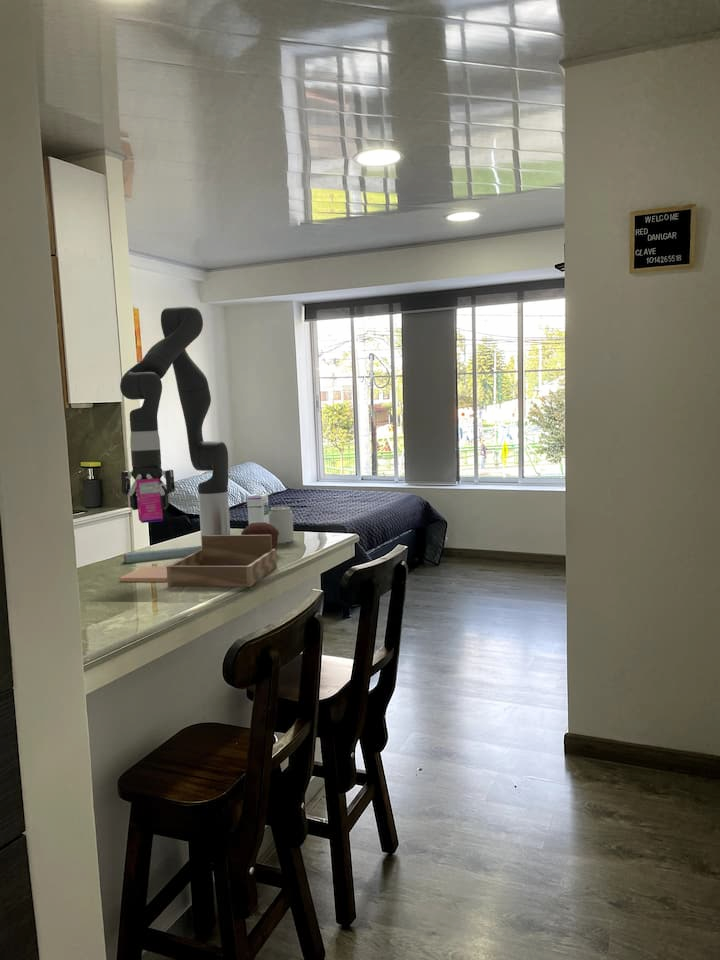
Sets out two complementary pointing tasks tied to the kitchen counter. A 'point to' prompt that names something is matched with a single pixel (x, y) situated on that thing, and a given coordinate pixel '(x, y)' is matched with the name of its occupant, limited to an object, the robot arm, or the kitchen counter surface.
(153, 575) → the terracotta tile
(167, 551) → the aluminum foil
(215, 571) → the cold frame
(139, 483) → the supplement box
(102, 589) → the kitchen counter surface
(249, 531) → the muffin
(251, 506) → the syrup box
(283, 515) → the can
